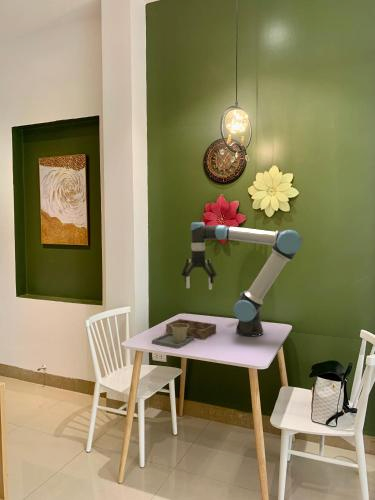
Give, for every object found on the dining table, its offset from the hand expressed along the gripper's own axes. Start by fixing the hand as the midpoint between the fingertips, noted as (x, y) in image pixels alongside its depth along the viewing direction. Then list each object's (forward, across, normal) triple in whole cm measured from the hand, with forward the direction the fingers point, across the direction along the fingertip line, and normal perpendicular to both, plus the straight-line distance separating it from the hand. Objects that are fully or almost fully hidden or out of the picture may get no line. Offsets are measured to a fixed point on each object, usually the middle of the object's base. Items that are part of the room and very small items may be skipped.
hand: (199, 288), depth 214 cm
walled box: (+26, +6, 0) cm, 26 cm away
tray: (+25, +7, +18) cm, 32 cm away
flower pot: (+25, +3, +18) cm, 31 cm away
